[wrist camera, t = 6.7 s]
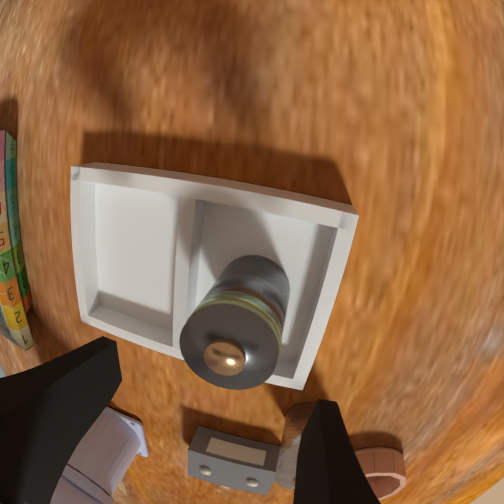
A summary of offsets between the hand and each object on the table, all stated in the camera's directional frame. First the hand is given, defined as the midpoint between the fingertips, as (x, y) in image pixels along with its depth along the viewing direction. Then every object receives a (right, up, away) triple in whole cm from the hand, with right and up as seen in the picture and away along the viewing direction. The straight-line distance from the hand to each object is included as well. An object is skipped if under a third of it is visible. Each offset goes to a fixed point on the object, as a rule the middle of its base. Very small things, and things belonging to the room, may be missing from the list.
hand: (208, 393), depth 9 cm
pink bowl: (+13, -17, +13) cm, 25 cm away
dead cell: (+6, -8, +12) cm, 15 cm away
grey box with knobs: (0, -15, +15) cm, 21 cm away
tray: (-2, +4, +9) cm, 10 cm away
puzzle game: (-24, +7, +13) cm, 28 cm away
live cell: (+2, +3, +8) cm, 8 cm away
